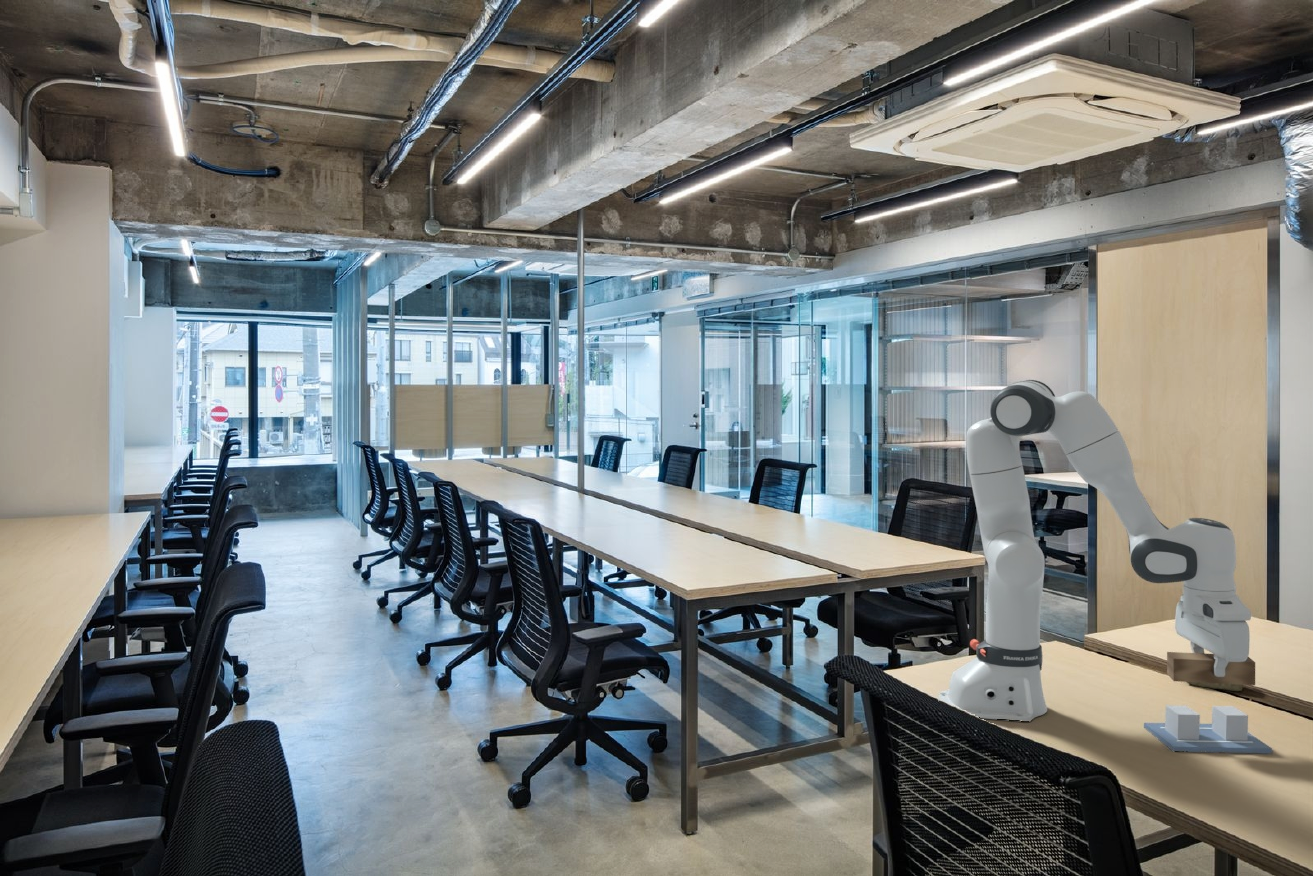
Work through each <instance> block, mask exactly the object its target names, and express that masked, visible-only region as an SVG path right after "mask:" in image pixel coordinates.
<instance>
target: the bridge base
mask: <svg viewBox="0 0 1313 876" xmlns="http://www.w3.org/2000/svg"><path fill="white" fill-rule="evenodd" d="M1211 708H1212V711H1211V712H1212V713H1211V723H1200V717H1201V716H1200V714H1199V713H1198V712H1196V711H1195V710H1193V709H1192V708H1190V707H1189V706H1188V705H1176V704H1175V705H1174V704H1173V705H1171V704H1170V705H1168V704H1166V705H1165V712H1164V713H1165V715H1164V716H1165V717H1164V720H1165V722H1144V723H1143V728H1144V729H1145V728H1146V729H1147V731H1148V732H1149V733H1150V732H1151V733H1152V734H1151V733H1150V734H1151V735H1153V737H1155V738H1156V737H1157V738H1158V739H1157V738H1156V739H1157V740H1158V741H1159V742H1161V743H1162V742H1163V743H1164V744H1163V743H1162V744H1163V745H1165V746H1166V747H1167V746H1168V747H1169V748H1168V747H1167V748H1168V749H1169V750H1170V751H1172V752H1173V751H1184V752H1183V753H1219V752H1225V754H1226V753H1227V754H1228V753H1230V754H1231V753H1234V754H1236V753H1237V754H1273V748H1272V747H1271V746H1269V745H1268V744H1266V743H1265V742H1263V741H1261V740H1260V739H1259V738H1257V737H1256V736H1254V735H1252V734H1251V733H1250V732H1249V731H1248V730H1249V715H1248V714H1246V713H1245V712H1243V711H1242V710H1240V709H1238V708H1236V706H1233V705H1212V707H1211ZM1146 729H1145V730H1146ZM1186 751H1188V752H1186ZM1200 751H1202V752H1200ZM1205 751H1206V752H1205Z"/></svg>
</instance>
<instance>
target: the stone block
mask: <svg viewBox="0 0 1313 876" xmlns="http://www.w3.org/2000/svg"><path fill="white" fill-rule="evenodd" d="M1186 684H1190V685H1192V686H1198V687H1200V688H1201V687H1203V688H1208V689H1215V690H1217V689H1218V690H1221V691H1222V690H1225V691H1230V692H1241V691H1242V690H1243V688H1244V685H1240V684H1220V683H1200V682H1186Z"/></svg>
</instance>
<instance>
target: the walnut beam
mask: <svg viewBox="0 0 1313 876" xmlns="http://www.w3.org/2000/svg"><path fill="white" fill-rule="evenodd" d="M1215 660H1216V659H1214V654H1213V653H1206V652H1204V653H1193V652H1181V651H1180V652H1179V651H1178V652H1177V651H1175V652H1173V651H1167V652H1166V665H1167V666H1166V674H1167V676H1169V678H1170V679H1171V680H1172V681H1173V682H1181V683H1183V682H1185V683H1187V682H1200V683H1220V684H1240V685H1243V686H1244V685H1245V686H1256V662H1255V661H1254V660H1253V659H1252V658H1251V657H1249V656H1248V658H1247V659H1246V661H1244V662H1228V664H1227V666H1226V668H1225V676H1224V677H1217V676H1215V675H1213V674H1212V666H1214V664H1215Z"/></svg>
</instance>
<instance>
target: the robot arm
mask: <svg viewBox="0 0 1313 876" xmlns="http://www.w3.org/2000/svg"><path fill="white" fill-rule="evenodd" d="M989 410H990V412H989V413H990V418H986V419H982V420H979V421H977V422H975V423H973V424H972V425H971V426H970V427H968V429H967V432H966V437H965V441H966V442H965V443H966V445H965V448H966V449H965V451H966V452H965V453H966V461H967V467H968V474H969V479H970V483H971V488H972V494H973V498H974V503H975V507H976V509H975V510H976V514H977V520H978V526H979V532H980V538H981V544H982V549H983V554H984V558H985V560H986V563H987V568H988V576H987V577H988V578H987V593H986V604H985V639H984V640H983V641H981V642H979V640H978V639H975V638H973V639H971V640H970V642H969V646H970V648H972V649H973V650H974V651H976V654H975V655H976V656H975V657H974V658H972V659H971V660H969V661H968V662H967V663H965V664H964V665H962V666H960V667H959V668H957V669H955V670H954V671H953V673H952V674H951V677H950V679H949V685H948V689H946V690H944V689H943V690H941V691H940V692H939V693H938V698H937V699H939V700H943V701H945V702H946V703H948V704H950V705H954V706H956V707H958V708H960V709H961V710H966V711H967V712H969V713H971V714H975V716H978V717H980V718H979V719H986V720H997V719H1013V720H1022V721H1029V722H1031V720H1032V719H1033V720H1034V718H1037V717H1040V716H1042V715H1045V714H1046V713H1047V712H1048V706H1047V704H1046V700H1045V695H1044V690H1043V684H1042V676H1041V675H1042V674H1041V671H1042V669H1043V668H1042V667H1043V648H1042V645H1041V642H1040V641H1041V639H1040V638H1041V606H1042V605H1041V604H1042V598H1043V590H1044V589H1043V588H1044V580H1045V579H1044V577H1045V564H1046V563H1045V562H1046V561H1045V555H1044V553H1043V550H1042V549H1041V547H1040V546H1039V545H1038V543H1037V541H1036V539H1035V535H1034V529H1033V520H1032V514H1031V504H1030V500H1031V499H1030V496H1029V491H1028V486H1027V485H1028V484H1027V481H1026V476H1025V470H1024V465H1023V461H1022V456H1021V451H1020V442H1021V438H1023V437H1024V436H1031V435H1037V434H1042V433H1047V432H1048V433H1049V434H1051V435H1052V436H1053V437H1054V438H1055V439H1056V441H1057V443H1058V444H1059V445H1060V448H1061V449H1062V452H1063V453H1064V455H1065V456H1066V458H1067V460H1068V461H1069V464H1070V465H1071V466H1072V468H1074V470H1075V472H1077V474H1078V475H1079V476H1080V477H1081V479H1082V480H1083V481H1084V482H1085V483H1087V484H1088V485H1090V486H1091V487H1094V489H1097V490H1098V491H1099V492H1101V494H1103V495H1104V497H1105V498H1106V499H1107V500H1108V502H1109V503H1110V506H1112V508H1113V510H1114V512H1115V513H1116V514H1117V517H1118V518H1119V520H1120V522H1121V524H1122V525H1123V527H1124V529H1125V531H1126V533H1127V537H1128V552H1129V557H1130V564H1131V568H1132V569H1133V571H1134V572H1135V574H1136V575H1137V576H1138V577H1139V578H1141V579H1143V580H1145V581H1146V582H1149V583H1152V584H1170V583H1172V584H1173V583H1179V582H1182V595H1180V600H1179V601H1178V602H1177V604H1176V607H1175V617H1174V629H1175V633H1176V634H1177V635H1178V636H1179V637H1182V638H1183V639H1186V640H1187V641H1189V642H1190V647H1191V651H1192V653H1205V650H1206V651H1207V652H1209V653H1210V654H1214V659H1216V660H1215V664H1214V666H1212V674H1213V675H1215V676H1217V677H1224V676H1225V668H1226V666H1227V664H1228V662H1244V661H1246V659H1247V658H1248V657H1249V655H1250V638H1251V637H1250V636H1251V635H1250V627H1249V624H1248V622H1247V621H1251V619H1252V611H1251V610H1250V608H1249V607H1248V606H1246V604H1245V602H1243V601H1242V600H1241V598H1240V596H1238V595H1237V586H1236V582H1235V579H1234V577H1235V575H1234V574H1235V570H1236V569H1237V568H1236V567H1237V550H1236V540H1235V535H1234V532H1233V531H1232V529H1230V527H1229V526H1227V525H1226V524H1225V523H1223V522H1220V521H1218V520H1214V519H1213V520H1212V519H1209V518H1204V517H1203V518H1202V517H1191V518H1188V519H1187V520H1186V521H1184V522H1183V523H1180V524H1178V525H1175V526H1174V527H1171V528H1170V527H1168V526H1166V525H1164V523H1162V522H1161V521H1160V520H1159V519H1158V517H1157V516H1156V514H1155V513H1154V511H1153V510H1152V508H1151V506H1150V505H1149V503H1148V501H1147V500H1146V498H1145V496H1144V494H1143V493H1142V491H1141V489H1140V488H1139V486H1138V483H1137V481H1136V477H1135V473H1134V465H1133V461H1132V458H1131V454H1130V452H1129V448H1128V446H1127V444H1126V442H1125V439H1124V437H1123V435H1122V433H1121V432H1120V430H1119V429H1118V427H1117V425H1116V423H1115V422H1114V421H1113V419H1112V417H1111V416H1110V414H1108V412H1107V410H1106V409H1105V408H1104V406H1102V404H1101V403H1100V402H1099V401H1098V399H1096V397H1094V396H1093V395H1092V393H1089V392H1087V391H1081V390H1080V391H1071V392H1068V393H1066V394H1062V395H1060V396H1056V395H1055V393H1054V391H1053V390H1052V388H1050V387H1049V385H1047V384H1046V383H1044V382H1042V381H1039V380H1034V379H1026V380H1020V381H1016V382H1015V381H1014V382H1013V383H1011V384H1009V385H1007V386H1005V387H1003V388H1002V389H1000V390H999V392H997V393H996V394H995V396H994V397H993V399H992V402H991V405H990V409H989ZM939 700H938V701H939ZM1033 720H1032V721H1033Z"/></svg>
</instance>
